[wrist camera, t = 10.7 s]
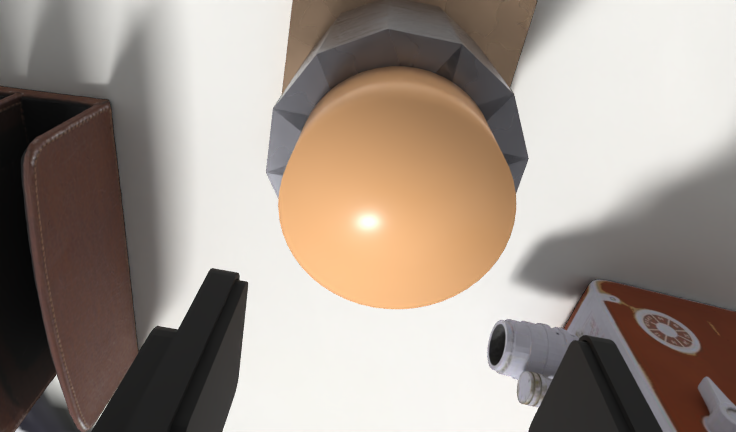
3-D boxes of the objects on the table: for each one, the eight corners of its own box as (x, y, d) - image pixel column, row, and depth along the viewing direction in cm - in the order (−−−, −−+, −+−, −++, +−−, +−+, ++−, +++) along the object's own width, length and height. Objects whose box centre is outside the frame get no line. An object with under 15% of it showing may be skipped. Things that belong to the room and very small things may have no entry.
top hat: (532, -3, 28) (609, 36, 18) (467, 201, 33) (500, 315, 24) (302, -52, 27) (251, -40, 17) (276, 164, 33) (227, 267, 23)
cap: (504, 69, 21) (551, 126, 15) (455, 227, 25) (477, 325, 19) (322, 31, 21) (293, 74, 15) (298, 197, 25) (267, 288, 18)
